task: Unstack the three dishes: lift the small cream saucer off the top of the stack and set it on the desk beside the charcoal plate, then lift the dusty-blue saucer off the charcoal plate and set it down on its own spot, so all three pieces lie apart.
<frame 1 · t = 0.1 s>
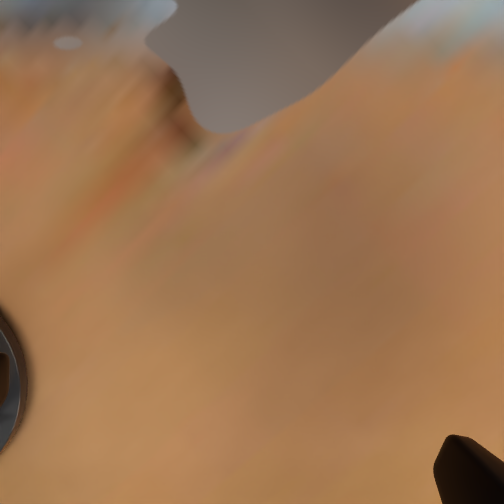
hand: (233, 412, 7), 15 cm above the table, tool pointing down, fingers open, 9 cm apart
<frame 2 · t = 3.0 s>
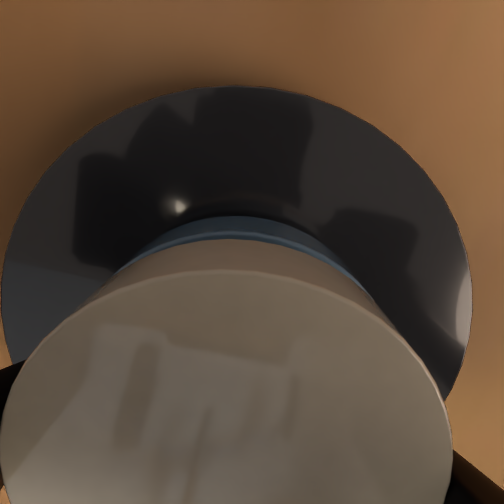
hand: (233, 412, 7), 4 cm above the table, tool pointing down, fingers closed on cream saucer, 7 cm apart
blue saucer: (237, 339, 10), point 1 cm above the table, touching charcoal plate, cream saucer
cream saucer: (233, 391, 8), point 3 cm above the table, touching blue saucer, gripper
charcoal plate: (238, 319, 11), on the table, touching blue saucer
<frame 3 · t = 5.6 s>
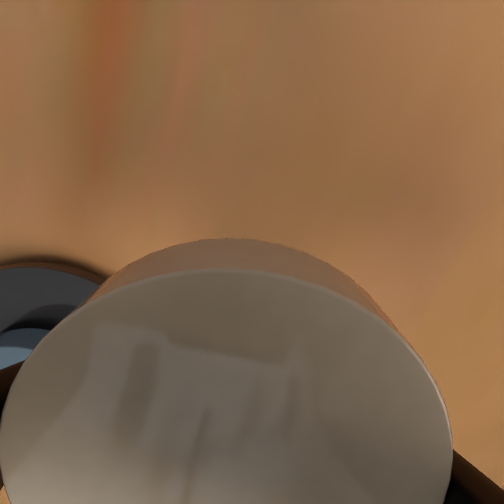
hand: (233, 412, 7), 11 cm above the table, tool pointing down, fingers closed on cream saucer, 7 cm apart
blue saucer: (48, 384, 18), point 1 cm above the table, touching charcoal plate
cream saucer: (233, 390, 8), point 10 cm above the table, touching gripper
charcoal plate: (60, 370, 20), on the table, touching blue saucer
when the fingers open (1 cm above the table, at t = 8.6 s): cream saucer stays where it is, on the table.
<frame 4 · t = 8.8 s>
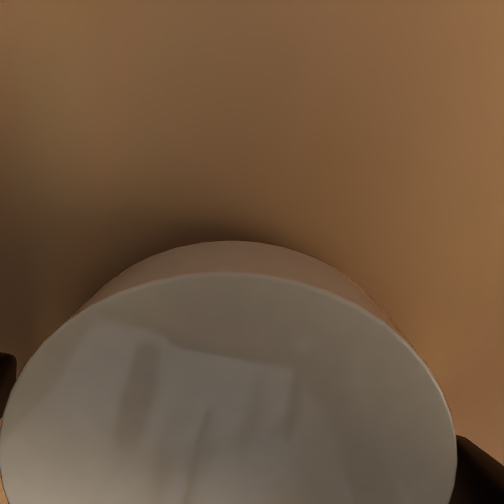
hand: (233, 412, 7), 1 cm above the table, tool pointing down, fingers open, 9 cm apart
cream saucer: (234, 393, 8), on the table
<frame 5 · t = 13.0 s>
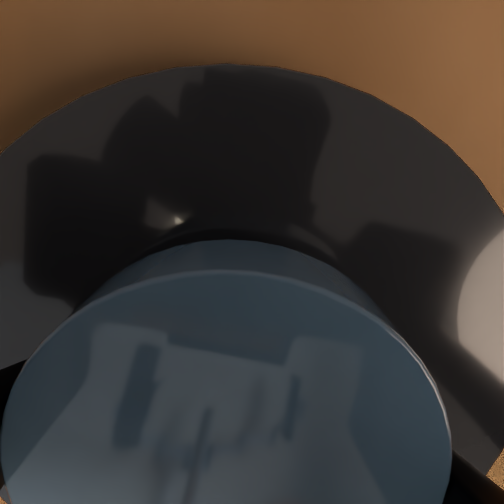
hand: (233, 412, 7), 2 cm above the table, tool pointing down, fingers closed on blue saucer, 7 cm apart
blue saucer: (233, 391, 8), point 1 cm above the table, touching charcoal plate, gripper
charcoal plate: (235, 359, 9), on the table, touching blue saucer
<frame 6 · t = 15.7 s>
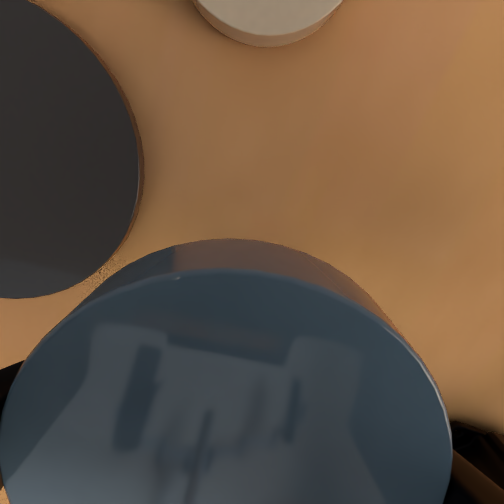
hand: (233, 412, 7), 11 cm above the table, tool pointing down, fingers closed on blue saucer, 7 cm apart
blue saucer: (233, 391, 8), point 10 cm above the table, touching gripper
charcoal plate: (4, 158, 16), on the table
when the fingers open (1 cm above the table, at t = 18.8 s): blue saucer stays where it is, on the table.
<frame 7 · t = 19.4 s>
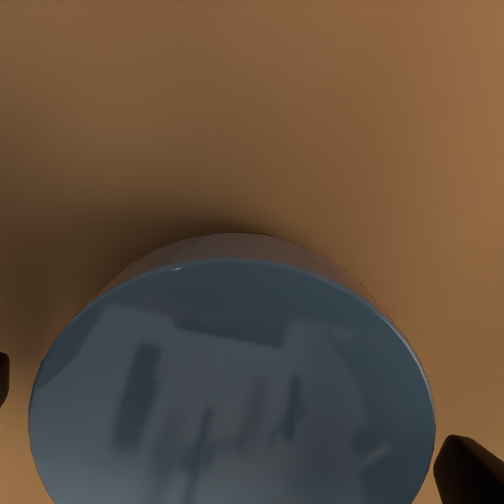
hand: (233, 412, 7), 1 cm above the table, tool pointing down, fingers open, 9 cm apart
blue saucer: (237, 375, 8), on the table
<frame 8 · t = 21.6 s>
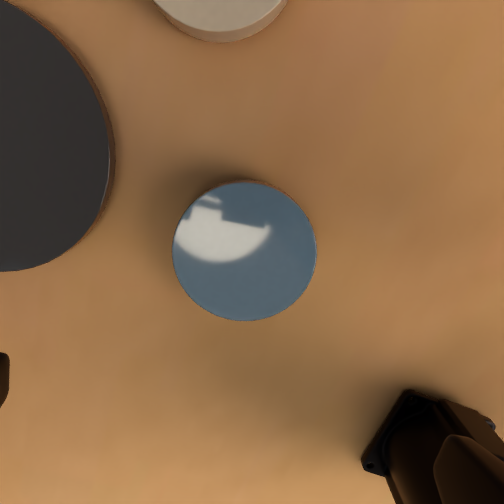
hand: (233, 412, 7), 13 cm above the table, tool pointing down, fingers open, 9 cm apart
blue saucer: (245, 244, 20), on the table
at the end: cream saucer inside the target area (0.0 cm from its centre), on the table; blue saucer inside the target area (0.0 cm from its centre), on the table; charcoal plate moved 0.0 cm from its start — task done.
